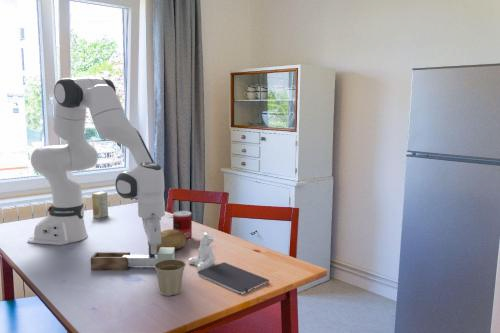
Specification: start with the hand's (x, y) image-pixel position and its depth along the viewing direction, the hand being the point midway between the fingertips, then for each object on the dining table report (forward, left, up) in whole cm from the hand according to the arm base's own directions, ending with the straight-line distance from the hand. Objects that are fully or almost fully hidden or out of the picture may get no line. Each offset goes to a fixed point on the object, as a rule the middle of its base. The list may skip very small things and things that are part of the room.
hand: (152, 249), depth 148 cm
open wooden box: (-14, 0, -7) cm, 16 cm away
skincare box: (-37, +65, -7) cm, 75 cm away
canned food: (+7, +32, -7) cm, 33 cm away
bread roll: (+4, +18, -7) cm, 20 cm away
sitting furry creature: (+18, +2, -7) cm, 19 cm away
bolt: (-2, 0, -6) cm, 6 cm away
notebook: (+28, -10, -7) cm, 30 cm away
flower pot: (+9, -19, -7) cm, 22 cm away
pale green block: (+4, 0, -7) cm, 8 cm away
